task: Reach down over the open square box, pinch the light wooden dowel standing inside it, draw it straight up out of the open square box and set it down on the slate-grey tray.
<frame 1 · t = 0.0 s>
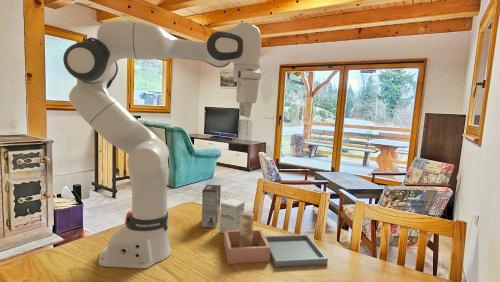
hand: (244, 116, 98), 48 cm above the table, fingers open, 8 cm apart
dowel: (246, 233, 102), in the open square box
open square box: (245, 251, 103), on the table
coffee box: (210, 223, 126), on the table
tray: (292, 252, 104), on the table
supplement box: (231, 231, 119), on the table
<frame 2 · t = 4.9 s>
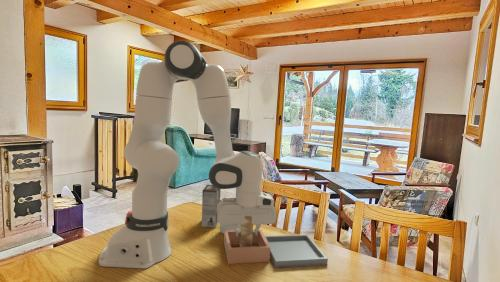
hand: (246, 235, 102), 6 cm above the table, fingers closed on dowel, 4 cm apart
dowel: (246, 233, 102), in the open square box, touching gripper
everything else where it was.
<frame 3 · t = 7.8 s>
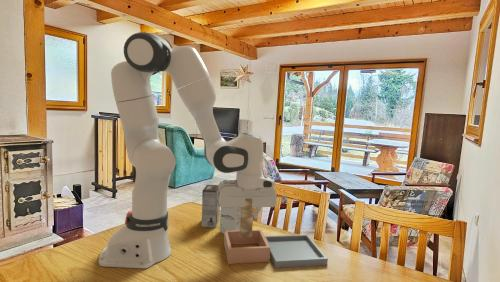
hand: (246, 218, 101), 12 cm above the table, fingers closed on dowel, 4 cm apart
dowel: (246, 216, 101), point 13 cm above the table, touching gripper
everything else where it was.
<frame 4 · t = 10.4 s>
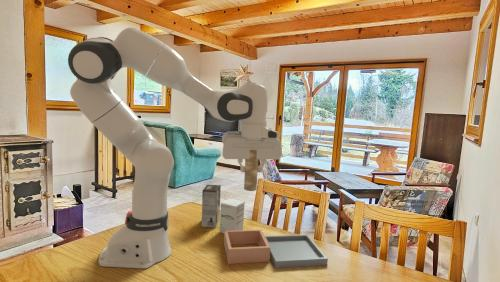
hand: (251, 171, 99), 29 cm above the table, fingers closed on dowel, 4 cm apart
dowel: (251, 169, 99), point 30 cm above the table, touching gripper
everything else where it was.
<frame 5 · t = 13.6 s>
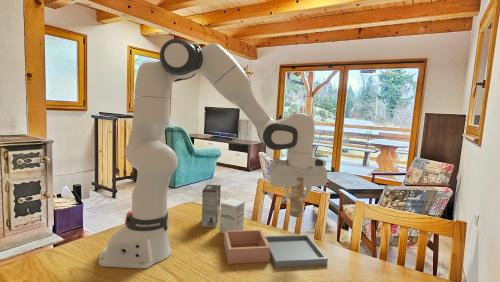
hand: (296, 198, 102), 20 cm above the table, fingers closed on dowel, 4 cm apart
dowel: (297, 195, 102), point 21 cm above the table, touching gripper
everything else where it was.
when the fingers open (8 cm above the table, at t = 16.2 s): dowel stays where it is, resting on tray.
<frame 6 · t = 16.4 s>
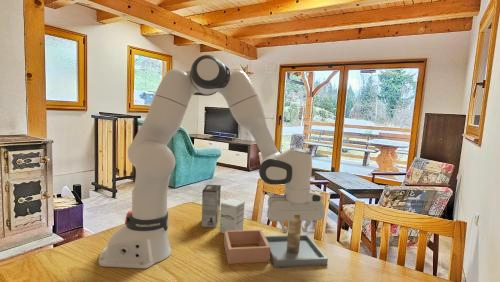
hand: (294, 231, 103), 8 cm above the table, fingers open, 6 cm apart
dowel: (294, 231, 103), in the tray, point 8 cm above the table
everything else where it was.
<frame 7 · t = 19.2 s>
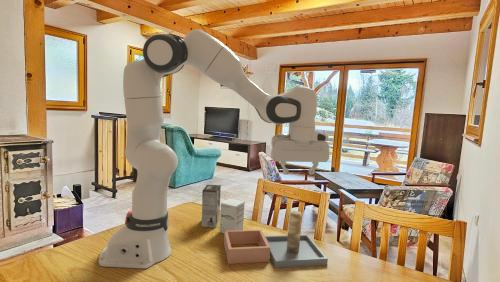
hand: (298, 174, 100), 29 cm above the table, fingers open, 8 cm apart
nothing on the table moved.
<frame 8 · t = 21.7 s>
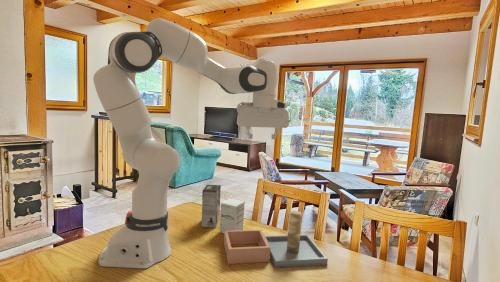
hand: (262, 138, 113), 39 cm above the table, fingers open, 8 cm apart
nothing on the table moved.
at the end: dowel inside the target area on the tray (0.1 cm from its centre), point 7.8 cm above the tray's base; the gripper is holding nothing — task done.
